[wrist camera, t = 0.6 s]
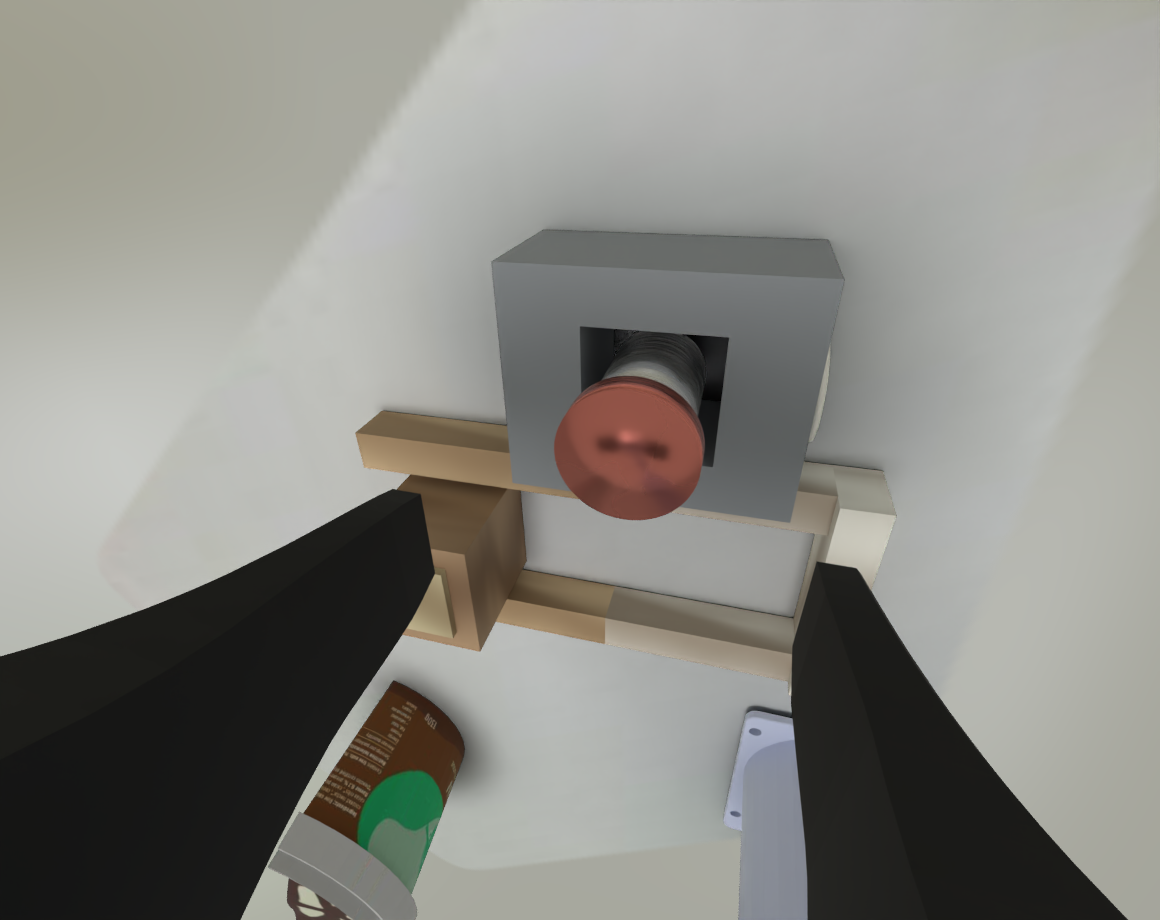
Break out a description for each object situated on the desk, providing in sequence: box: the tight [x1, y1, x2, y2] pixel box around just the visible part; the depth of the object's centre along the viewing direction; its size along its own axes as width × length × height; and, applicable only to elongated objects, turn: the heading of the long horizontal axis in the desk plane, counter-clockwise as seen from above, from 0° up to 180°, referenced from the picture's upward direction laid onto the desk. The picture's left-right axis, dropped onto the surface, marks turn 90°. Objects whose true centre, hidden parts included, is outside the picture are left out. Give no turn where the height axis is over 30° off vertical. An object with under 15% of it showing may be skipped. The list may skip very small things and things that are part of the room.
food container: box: [268, 681, 465, 920], centre depth 31 cm, size 12×6×10 cm, turn 166°
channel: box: [356, 411, 897, 695], centre depth 22 cm, size 9×18×2 cm, turn 91°
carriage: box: [397, 474, 527, 652], centre depth 22 cm, size 5×4×5 cm
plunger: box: [554, 331, 707, 520], centre depth 14 cm, size 3×3×5 cm
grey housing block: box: [491, 230, 844, 523], centre depth 16 cm, size 6×8×4 cm
